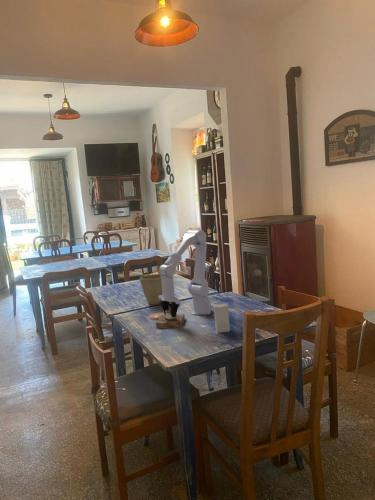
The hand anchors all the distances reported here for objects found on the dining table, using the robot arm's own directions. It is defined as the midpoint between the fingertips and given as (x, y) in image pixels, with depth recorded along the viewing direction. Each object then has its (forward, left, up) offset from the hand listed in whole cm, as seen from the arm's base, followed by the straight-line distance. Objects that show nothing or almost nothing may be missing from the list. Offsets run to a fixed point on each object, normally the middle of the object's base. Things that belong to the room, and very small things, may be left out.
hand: (170, 315), depth 187 cm
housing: (0, 0, -4) cm, 4 cm away
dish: (+9, -11, -4) cm, 15 cm away
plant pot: (+17, -38, -4) cm, 42 cm away
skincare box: (-26, +12, -4) cm, 29 cm away
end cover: (0, 0, -4) cm, 4 cm away
